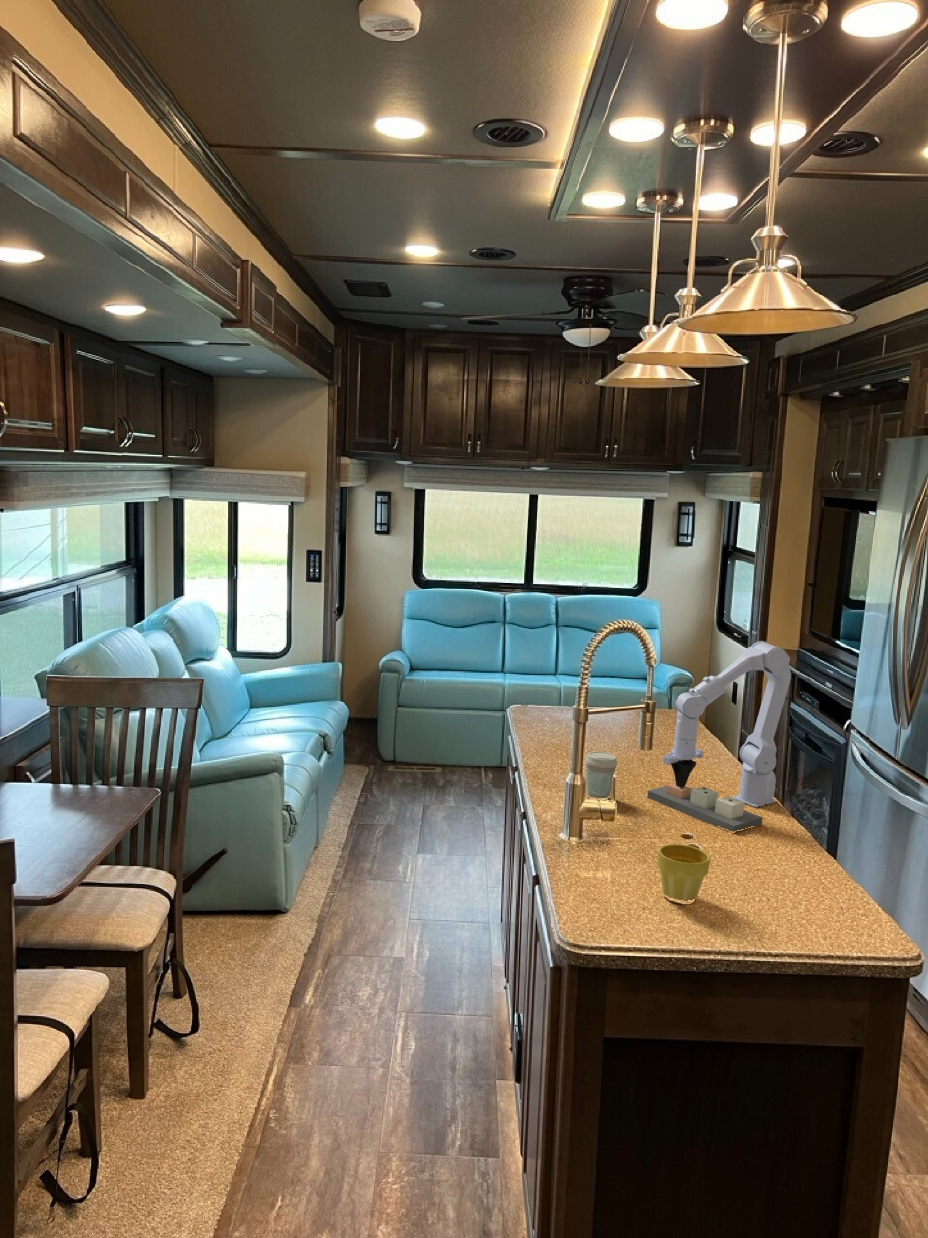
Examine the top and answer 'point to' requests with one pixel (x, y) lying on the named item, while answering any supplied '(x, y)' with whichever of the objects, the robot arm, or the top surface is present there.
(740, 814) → the key one
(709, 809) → the keypad board
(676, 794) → the key three
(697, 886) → the plant pot
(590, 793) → the coffee cup
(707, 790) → the key two
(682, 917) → the top surface
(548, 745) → the top surface
